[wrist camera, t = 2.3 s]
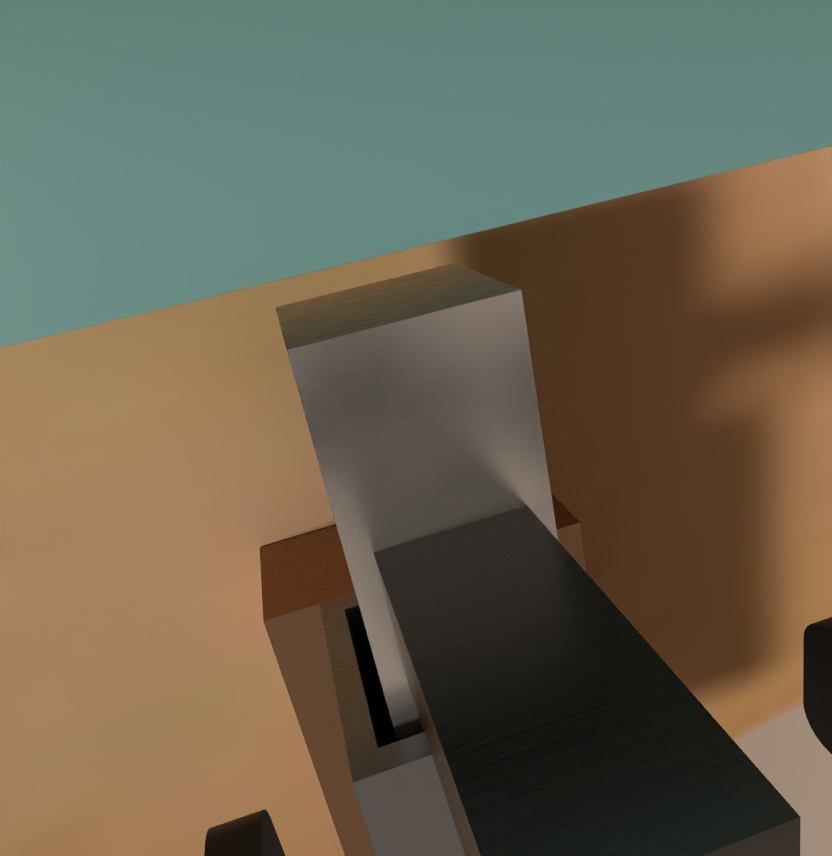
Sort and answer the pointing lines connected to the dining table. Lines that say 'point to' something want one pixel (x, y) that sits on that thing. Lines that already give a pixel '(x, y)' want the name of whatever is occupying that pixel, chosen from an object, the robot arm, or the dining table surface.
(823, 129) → the teal flat panel
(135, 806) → the dining table surface
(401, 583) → the grey angled block
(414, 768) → the sleeve
